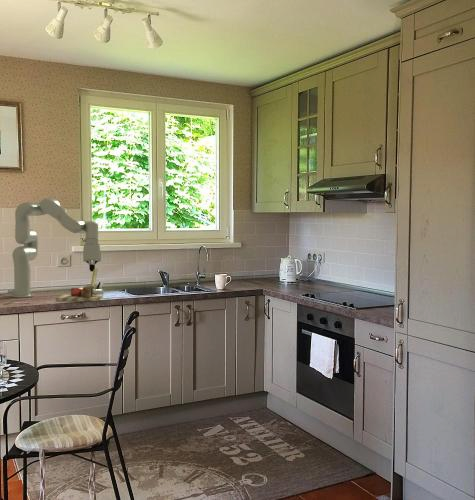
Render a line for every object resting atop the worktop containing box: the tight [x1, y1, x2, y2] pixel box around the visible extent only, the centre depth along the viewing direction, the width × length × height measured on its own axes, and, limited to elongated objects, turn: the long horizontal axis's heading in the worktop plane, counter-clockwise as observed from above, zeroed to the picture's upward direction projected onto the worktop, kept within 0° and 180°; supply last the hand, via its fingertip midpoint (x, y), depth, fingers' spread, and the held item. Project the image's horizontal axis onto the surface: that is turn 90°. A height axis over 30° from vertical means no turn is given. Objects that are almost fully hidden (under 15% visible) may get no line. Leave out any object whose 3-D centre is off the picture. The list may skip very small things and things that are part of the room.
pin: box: [70, 287, 105, 296], centre depth 345 cm, size 19×5×5 cm, turn 93°
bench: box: [56, 284, 104, 302], centre depth 345 cm, size 25×14×8 cm, turn 94°
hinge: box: [94, 281, 104, 295], centre depth 365 cm, size 17×5×10 cm, turn 8°
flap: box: [90, 267, 99, 287], centre depth 345 cm, size 1×10×11 cm, turn 4°
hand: (92, 271), depth 345 cm, fingers closed
